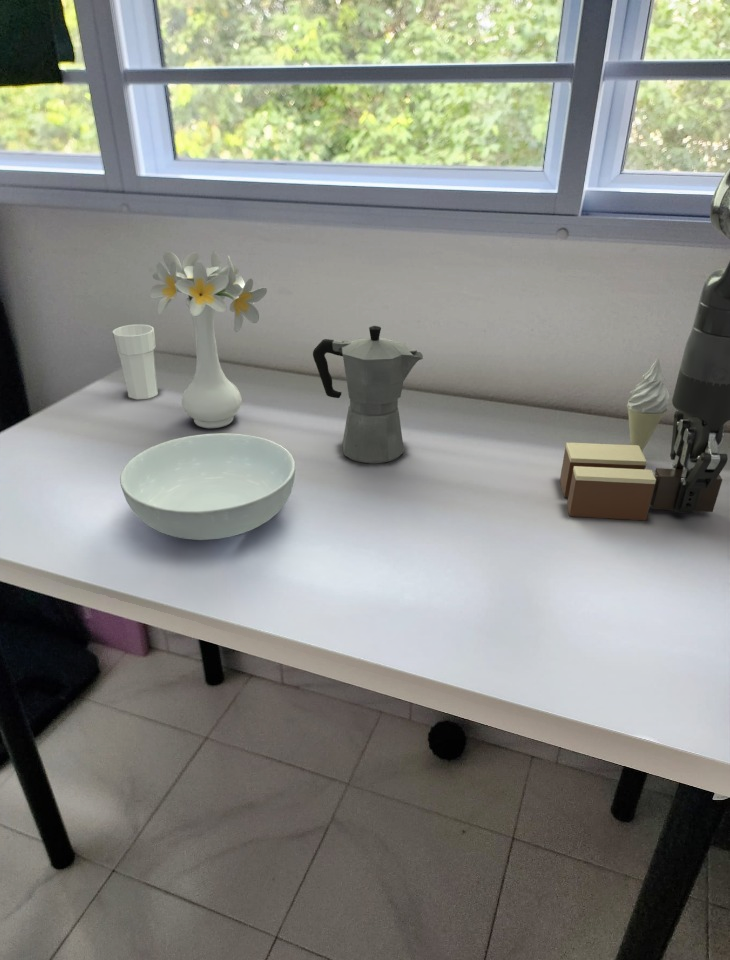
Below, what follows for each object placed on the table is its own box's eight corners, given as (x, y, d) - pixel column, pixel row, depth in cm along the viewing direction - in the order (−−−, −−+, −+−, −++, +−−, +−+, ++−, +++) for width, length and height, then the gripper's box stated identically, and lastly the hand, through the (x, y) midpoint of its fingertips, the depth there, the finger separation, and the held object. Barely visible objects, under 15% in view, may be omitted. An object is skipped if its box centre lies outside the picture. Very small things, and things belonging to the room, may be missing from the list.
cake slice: (641, 509, 93) (651, 469, 90) (646, 520, 90) (656, 479, 87) (566, 505, 94) (573, 465, 91) (569, 516, 92) (576, 475, 89)
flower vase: (248, 447, 110) (234, 270, 96) (146, 426, 117) (119, 259, 103) (289, 414, 120) (282, 250, 106) (193, 397, 127) (175, 241, 113)
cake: (630, 484, 98) (639, 445, 95) (637, 501, 94) (647, 461, 91) (559, 480, 99) (566, 442, 96) (564, 497, 96) (571, 458, 93)
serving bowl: (321, 490, 98) (320, 442, 95) (255, 578, 82) (250, 524, 78) (181, 468, 105) (175, 422, 101) (94, 545, 88) (82, 494, 84)
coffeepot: (425, 442, 110) (432, 320, 100) (409, 470, 103) (415, 341, 93) (326, 429, 115) (324, 311, 105) (304, 455, 107) (299, 330, 97)
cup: (153, 402, 125) (143, 337, 119) (116, 399, 127) (105, 335, 121) (168, 388, 131) (160, 325, 125) (134, 385, 132) (123, 323, 126)
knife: (707, 503, 92) (717, 470, 90) (712, 512, 90) (722, 479, 88) (573, 496, 94) (579, 464, 92) (575, 504, 92) (581, 472, 90)
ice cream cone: (616, 468, 102) (639, 361, 94) (613, 452, 106) (635, 348, 98) (656, 471, 101) (682, 364, 93) (651, 455, 105) (676, 350, 97)
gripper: (776, 394, 76) (729, 537, 85) (734, 349, 88) (697, 480, 97) (698, 391, 77) (660, 533, 86) (666, 347, 89) (636, 477, 98)
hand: (680, 504), depth 92 cm, fingers closed on knife, 2 cm apart
